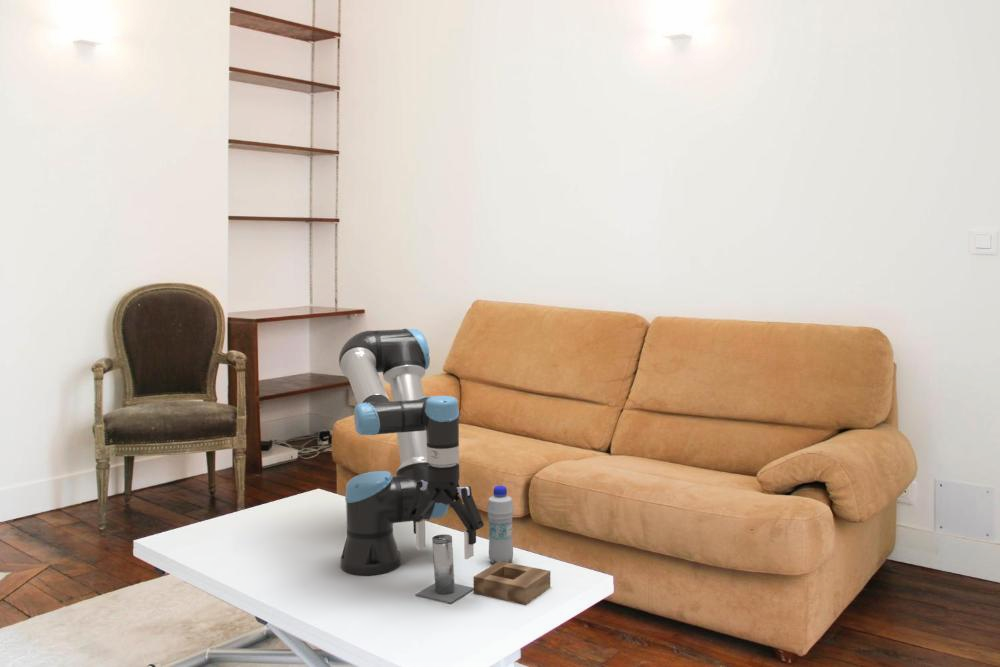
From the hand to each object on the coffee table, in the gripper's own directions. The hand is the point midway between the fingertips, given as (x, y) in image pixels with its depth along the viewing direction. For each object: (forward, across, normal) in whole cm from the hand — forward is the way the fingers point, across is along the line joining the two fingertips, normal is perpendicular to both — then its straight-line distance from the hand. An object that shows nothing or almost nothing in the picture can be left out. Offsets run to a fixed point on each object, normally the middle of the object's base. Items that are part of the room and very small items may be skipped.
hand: (444, 552), depth 214 cm
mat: (+10, 0, 0) cm, 10 cm away
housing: (+10, +13, +9) cm, 19 cm away
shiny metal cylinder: (+9, 0, 0) cm, 9 cm away
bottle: (+10, +1, +24) cm, 26 cm away
